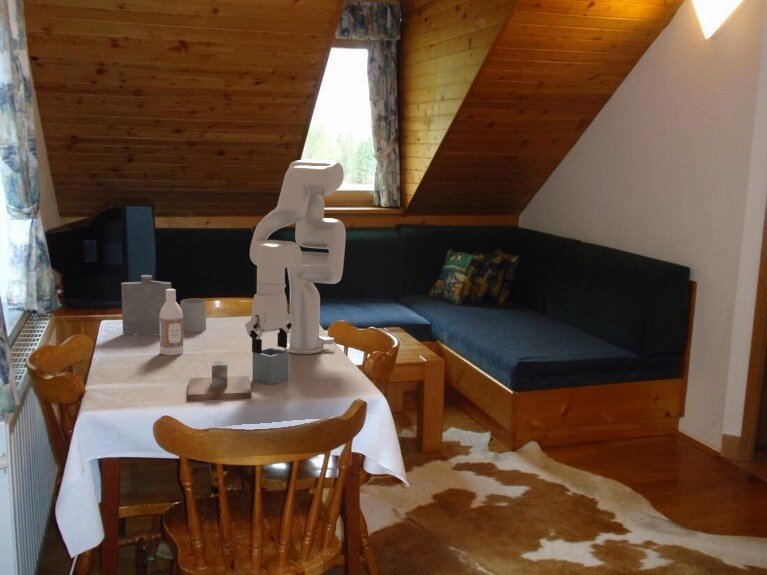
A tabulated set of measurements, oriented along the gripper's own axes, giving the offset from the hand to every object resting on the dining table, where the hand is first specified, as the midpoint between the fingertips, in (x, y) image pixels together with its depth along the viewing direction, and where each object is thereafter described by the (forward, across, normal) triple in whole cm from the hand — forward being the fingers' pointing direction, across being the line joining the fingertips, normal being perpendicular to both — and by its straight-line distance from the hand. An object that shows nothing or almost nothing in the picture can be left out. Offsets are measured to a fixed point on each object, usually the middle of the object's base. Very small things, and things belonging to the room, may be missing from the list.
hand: (269, 349), depth 211 cm
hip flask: (+8, -8, -66) cm, 67 cm away
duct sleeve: (+9, -1, 0) cm, 9 cm away
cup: (+7, -23, -61) cm, 65 cm away
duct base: (+9, +15, -3) cm, 18 cm away
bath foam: (+8, +1, -42) cm, 42 cm away
